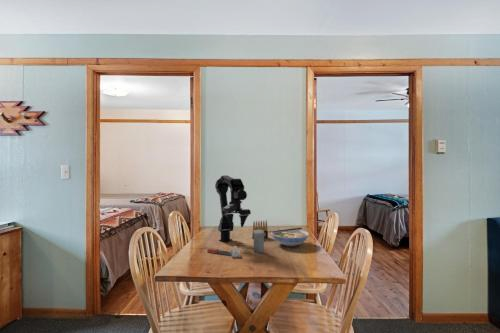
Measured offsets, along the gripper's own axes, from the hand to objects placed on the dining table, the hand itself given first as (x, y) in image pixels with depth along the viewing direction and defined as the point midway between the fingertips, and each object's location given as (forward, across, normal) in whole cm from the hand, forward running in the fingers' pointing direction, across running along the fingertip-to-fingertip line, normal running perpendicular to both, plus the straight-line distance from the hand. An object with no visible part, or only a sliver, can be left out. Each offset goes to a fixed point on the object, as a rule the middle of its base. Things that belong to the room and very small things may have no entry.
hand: (236, 226), depth 158 cm
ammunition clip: (+12, -5, +27) cm, 30 cm away
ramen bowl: (+13, +19, +27) cm, 35 cm away
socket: (+13, +14, +3) cm, 20 cm away
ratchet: (+13, +2, -13) cm, 18 cm away
